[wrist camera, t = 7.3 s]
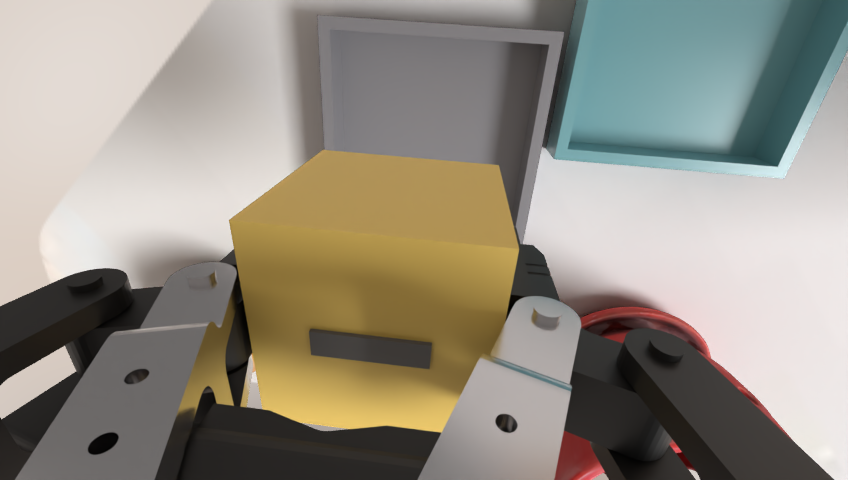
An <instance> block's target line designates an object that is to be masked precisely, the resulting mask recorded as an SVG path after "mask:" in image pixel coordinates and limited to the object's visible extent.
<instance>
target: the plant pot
mask: <svg viewBox="0 0 848 480" xmlns="http://www.w3.org/2000/svg"><path fill="white" fill-rule="evenodd" d="M580 320H581V328H583V329H584V330H586V331H588V332H591V333H593V334H596V335H598V336H602V337H605V338H608V339H611V340H614V341H617V342H621V343H623V341H624V338H625V336H626V334H627V333H628V332H629V331H631V330H634V329H638V328H650V329H656V330H660V331H664V332H667V333H669V334H672V335H674V336H676V337H678V338H680V339H682V340H684V341H686V342H687V343H689V344H690V345H691V346H693V347H694V348H695V349H696V350H697V351H698V352H699V353H700V354H702V355H703V356H704V357H705V358H706V359H707V360H708V361H709V362H710V363H711V364H712V365H713V366H714V367H715V368H716V369H717V370H718V371H720V372H721V373H722V374H723V375H724V376H725V377H726V378H727V379H728V380H729V381H730V382H731V383H732V384H733V385H734V386H735V387H736V388H738V389H739V390H740V391H741V392H742V393H743V394H744V395H745V396H746V397H747V398H748V399H749V400H750V401H751V402H752V403H753V404H754V405H756V406H757V407H758V408H759V409H760V410H761V411H762V412H763V413H764V414H765V415H766V416H767V417H768V418H769V419H770V420H771V421H772V422H774V423H775V424H776V425H777V426H778V427H779V428H780V429H781V430H782V431H783V432H784V433H785V434H786V435H787V436H788V437H789V435H788V434H787V433H786V432H785V431H784V430H783V429H782V427H781V426H780V425H779V424H778V423H777V422H776V421H775V419H774V418H773V417H772V416H771V414H770V413H769V412H768V410H767V409H766V408H765V407H764V406H763V405H762V404H761V403H760V402H759V400H758V399H757V398H756V397H755V396H754V395H753V394H752V393H751V392H750V391H748V390H747V389H746V388H745V387H744V386H743V385H742V384H741V383H740V382H739V381H738V380H736V379H735V378H734V377H733V376H732V375H731V374H730V373H729V372H728V371H727V370H725V369H724V368H723V367H722V366H720V365H719V364H718V363H716V362H715V361H714V360H712V359H711V356H710V352H709V349H708V346H707V344H706V342H705V341H704V339H703V338H702V337H701V335H700V334H699V333H698V332H697V331H696V330H695V329H694V328H692V327H691V326H690V325H689V324H687V323H686V322H684V321H682V320H681V319H679V318H677V317H675V316H673V315H670V314H668V313H665V312H662V311H658V310H655V309H650V308H642V307H617V308H610V309H605V310H601V311H597V312H594V313H591V314H589V315H586V316H584V317H582V318H580ZM789 438H790V437H789ZM790 439H791V438H790ZM669 445H670V446H671V447H672V449H673V450H674V451H675V453H676V454H677V455H678V457H679V458H680V459H681V461H682V462H683V463H684V465H685V466H686V467H687V469H691V470H694V471H696V470H695V468H694V467H693V466H692V464H691V463H690V462H689V460H688V459H687V458H686V456H685V455H684V454H683V453H682V451H681V450H680V449H679V447H678V446H677V445H676V443H675V442H674V441H673V440H671V442H670V444H669ZM602 473H605V472H604V470H603V468H602V466H601V464H600V463H599V461H598V459H597V457H596V455H595V453H594V452H593V450H592V448H591V445H590V441H588V440H586V439H583V438H581V437H578V436H576V435H573V434H571V433H568V432H566V431H564V432H563V437H562V442H561V447H560V452H559V458H558V463H557V468H556V473H555V479H554V480H592V479H594V478H595V477H597V476H598V475H600V474H602ZM605 474H606V473H605Z"/></svg>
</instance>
